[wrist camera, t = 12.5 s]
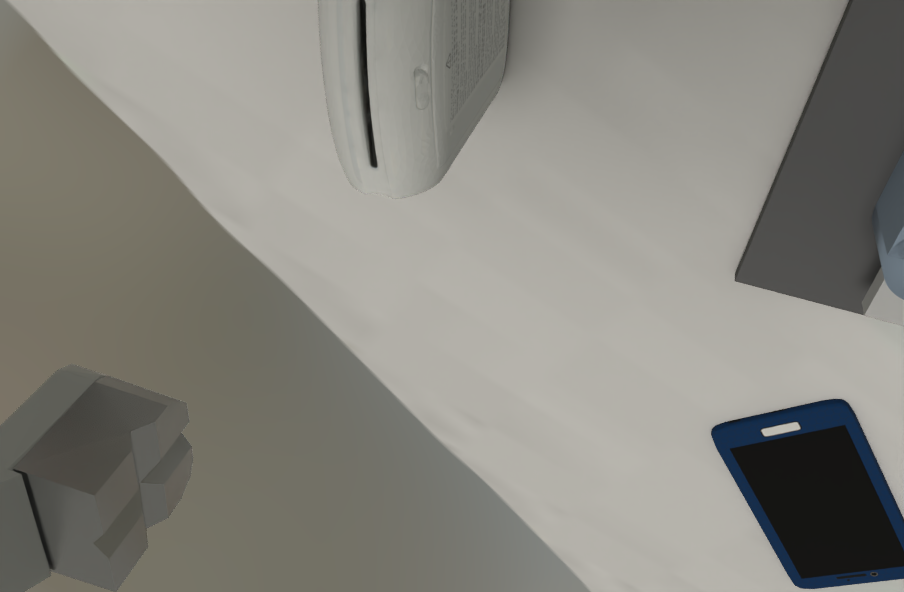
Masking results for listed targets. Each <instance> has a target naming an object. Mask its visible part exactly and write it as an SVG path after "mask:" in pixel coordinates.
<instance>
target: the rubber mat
mask: <svg viewBox="0 0 904 592" xmlns="http://www.w3.org/2000/svg"><path fill="white" fill-rule="evenodd" d="M903 151H904V0H850V1H849V3H848V6H847V8H846V11H845V13H844V15H843V18H842V20H841V22H840V25H839V27H838V30H837V32H836V34H835V37H834V39H833V42H832V44H831V46H830V49H829V51H828V53H827V56H826V58H825V61H824V63H823V65H822V68H821V70H820V73H819V75H818V77H817V80H816V82H815V85H814V87H813V89H812V92H811V94H810V96H809V99H808V101H807V104H806V106H805V108H804V111H803V113H802V116H801V118H800V120H799V123H798V125H797V127H796V130H795V132H794V135H793V137H792V139H791V142H790V144H789V147H788V149H787V151H786V154H785V156H784V159H783V161H782V163H781V166H780V168H779V170H778V173H777V175H776V178H775V180H774V182H773V185H772V187H771V190H770V192H769V194H768V197H767V199H766V201H765V204H764V206H763V209H762V211H761V213H760V216H759V218H758V221H757V223H756V225H755V228H754V230H753V233H752V235H751V237H750V240H749V242H748V244H747V247H746V249H745V252H744V254H743V256H742V259H741V261H740V264H739V266H738V268H737V271H736V273H735V281H736V282H740V283H744V284H748V285H752V286H755V287H759V288H763V289H767V290H771V291H774V292H778V293H782V294H786V295H790V296H793V297H797V298H801V299H805V300H809V301H812V302H816V303H820V304H824V305H828V306H831V307H835V308H839V309H843V310H846V311H850V312H854V313H858V314H862V315H864V312H863V307H862V301H863V299H864V297H865V295H866V294H867V292H868V290H869V288H870V286H871V285H872V283H873V281H874V279H875V277H876V275H877V274H878V272H879V270H880V268H881V262H880V258H879V253H878V249H877V244H876V240H875V235H874V231H873V226H872V214H873V210H874V208H875V205H876V204H877V202H878V200H879V198H880V196H881V194H882V192H883V190H884V188H885V186H886V184H887V182H888V180H889V178H890V176H891V174H892V173H893V171H894V169H895V167H896V165H897V163H898V161H899V159H900V157H901V155H902V153H903Z"/></svg>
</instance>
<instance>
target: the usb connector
mask: <svg viewBox="0 0 904 592" xmlns="http://www.w3.org/2000/svg"><path fill="white" fill-rule="evenodd" d="M872 226H873V231H874V235H875V240H876V244H877V249H878V253H879V258H880V262H881V268H880V270H879V272H878V274H877V275H876V277H875V279H874V281H873V283H872V285H871V286H870V288H869V290H868V292H867V294H866V295H865V297H864V299H863V301H862V307H863V312H864V316H867V317H871V318H875V319H879V320H882V321H886V322H890V323H894V324H898V325H901V326H904V151H903V153H902V155H901V157H900V159H899V161H898V163H897V165H896V167H895V169H894V171H893V173H892V174H891V176H890V178H889V180H888V182H887V184H886V186H885V188H884V190H883V192H882V194H881V196H880V198H879V200H878V202H877V204H876V205H875V208H874V210H873V214H872Z"/></svg>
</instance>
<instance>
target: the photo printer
mask: <svg viewBox="0 0 904 592" xmlns="http://www.w3.org/2000/svg"><path fill="white" fill-rule="evenodd" d="M509 7H510V0H318V16H319V35H320V49H321V61H322V70H323V79H324V88H325V95H326V102H327V109H328V115H329V121H330V126H331V131H332V135H333V139H334V143H335V147H336V151H337V154H338V157H339V160H340V163H341V165H342V167H343V170H344V172H345V175H346V177H347V178H348V180H349V182H350V184H351V185H352V186H353V187H354V188H355V189H356V190H358V191H360V192H361V193H363V194H380V195H384V196H388V197H390V198H392V199H398V198H405V197H409V196H413V195H417V194H419V193H422V192H424V191H427V190H429V189H430V188H432V187H434V186H435V185H437V184H438V183H439V182H440V181H441V180H442V178H443V177H444V175H445V174H446V172H447V171H448V169H449V168H450V166H451V164H452V163H453V161H454V160H455V158H456V156H457V155H458V153H459V152H460V150H461V149H462V147H463V146H464V144H465V142H466V141H467V139H468V138H469V136H470V135H471V133H472V132H473V130H474V128H475V127H476V125H477V124H478V122H479V121H480V119H481V117H482V116H483V114H484V113H485V111H486V110H487V108H488V107H489V105H490V104H491V102H492V101H493V99H494V98H495V96H496V94H497V93H498V91H499V88H500V85H501V82H502V77H503V73H504V68H505V62H506V53H507V41H508V32H509V29H508V25H509Z"/></svg>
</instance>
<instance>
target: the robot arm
mask: <svg viewBox="0 0 904 592" xmlns="http://www.w3.org/2000/svg"><path fill="white" fill-rule="evenodd" d="M188 423H189V416H188V409H187V403H186V402H183V401H180V400H177V399H174V398H171V397H168V396H165V395H163V394H160V393H157V392H154V391H151V390H148V389H145V388H142V387H139V386H136V385H134V384H131V383H128V382H125V381H122V380H120V379H117V378H114V377H111V376H108V375H105V374H102V373H99V372H95V371H92V370H90V369H87V368H84V367H81V366H77V365H74V364H70V365H68V366H65V367H63V368H61V369H58V370H57V371H56V372H55V373H54V374H53V375H52V376H51V377H50V378H49V379H47V381H45V382H44V383H43V384H42V385H41V386H40V387H39V388H38V389H37V390H36V391H35V392H34V393H33V394H32V395H31V396H30V397H29V398H28V399H27V400H26V401H25V402H24V403H23V404H22V405H21V406H20V407H19V408H18V409H17V410H16V411H15V412H14V413H13V414H12V415H11V416H10V417H9V418H8V419H7V420H6V421H5V422H4V423H3V424H2V425H1V426H0V592H25V591H26V590H28V589H30V588H31V587H33V586H35V585H36V584H38V583H40V582H41V581H43V580H45V579H46V578H48V577H50V576H51V571H53V572H56V573H59V574H62V575H65V576H68V577H71V578H74V579H77V580H80V581H83V582H86V583H90V584H93V585H96V586H98V587H101V588H105V589H108V590H111V591H114V592H116V591H117V590H118V588H119V587H120V586H121V584H122V583H123V582H124V580H125V579H126V577H127V576H128V575H129V573H130V572H131V570H132V569H133V567H134V566H135V565H136V563H137V562H138V560H139V559H140V558H141V556H142V555H143V553H144V552H145V551H146V549H147V548H148V543H147V542H148V541H147V528H149V527H150V526H153V525H155V524H157V523H159V522H161V521H163V520H165V519H167V518H169V516H170V515H171V513H172V512H173V510H174V509H175V507H176V506H177V504H178V503H179V501H180V499H181V498H182V496H183V493H184V491H185V488H186V486H187V483H188V481H189V479H190V476H191V470H192V463H193V453H192V446H191V445H190V443H189V442H188V441H187V439H186V438H185V437H184V435H183V434H182V433H181V432H182V431H183V429H184V428H185V427H186V426H187V424H188Z"/></svg>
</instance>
